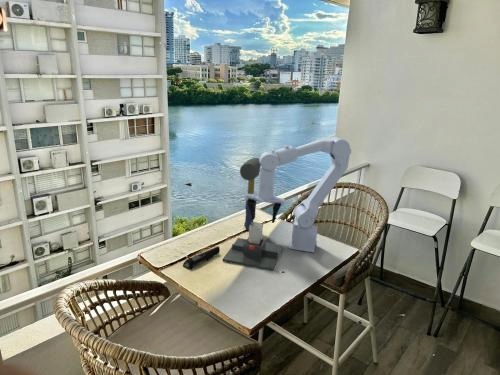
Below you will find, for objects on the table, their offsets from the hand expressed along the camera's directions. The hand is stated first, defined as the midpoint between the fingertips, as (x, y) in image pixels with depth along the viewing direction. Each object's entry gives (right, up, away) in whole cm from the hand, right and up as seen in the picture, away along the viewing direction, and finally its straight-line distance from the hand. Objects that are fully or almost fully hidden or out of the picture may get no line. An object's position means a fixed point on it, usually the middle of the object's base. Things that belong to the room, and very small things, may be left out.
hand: (263, 220), depth 134 cm
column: (-3, -9, -5) cm, 10 cm away
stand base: (-3, -12, -4) cm, 13 cm away
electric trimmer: (-22, -13, -10) cm, 27 cm away
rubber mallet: (-5, -5, +17) cm, 19 cm away
